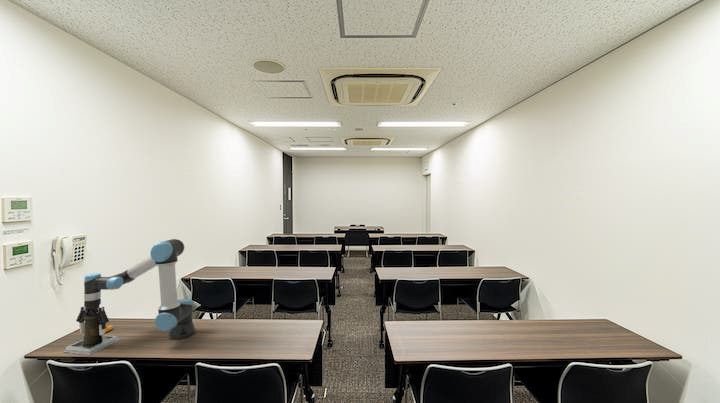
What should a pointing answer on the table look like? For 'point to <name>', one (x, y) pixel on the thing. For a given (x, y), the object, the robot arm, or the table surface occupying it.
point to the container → (91, 332)
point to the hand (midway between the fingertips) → (92, 333)
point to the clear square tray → (80, 349)
